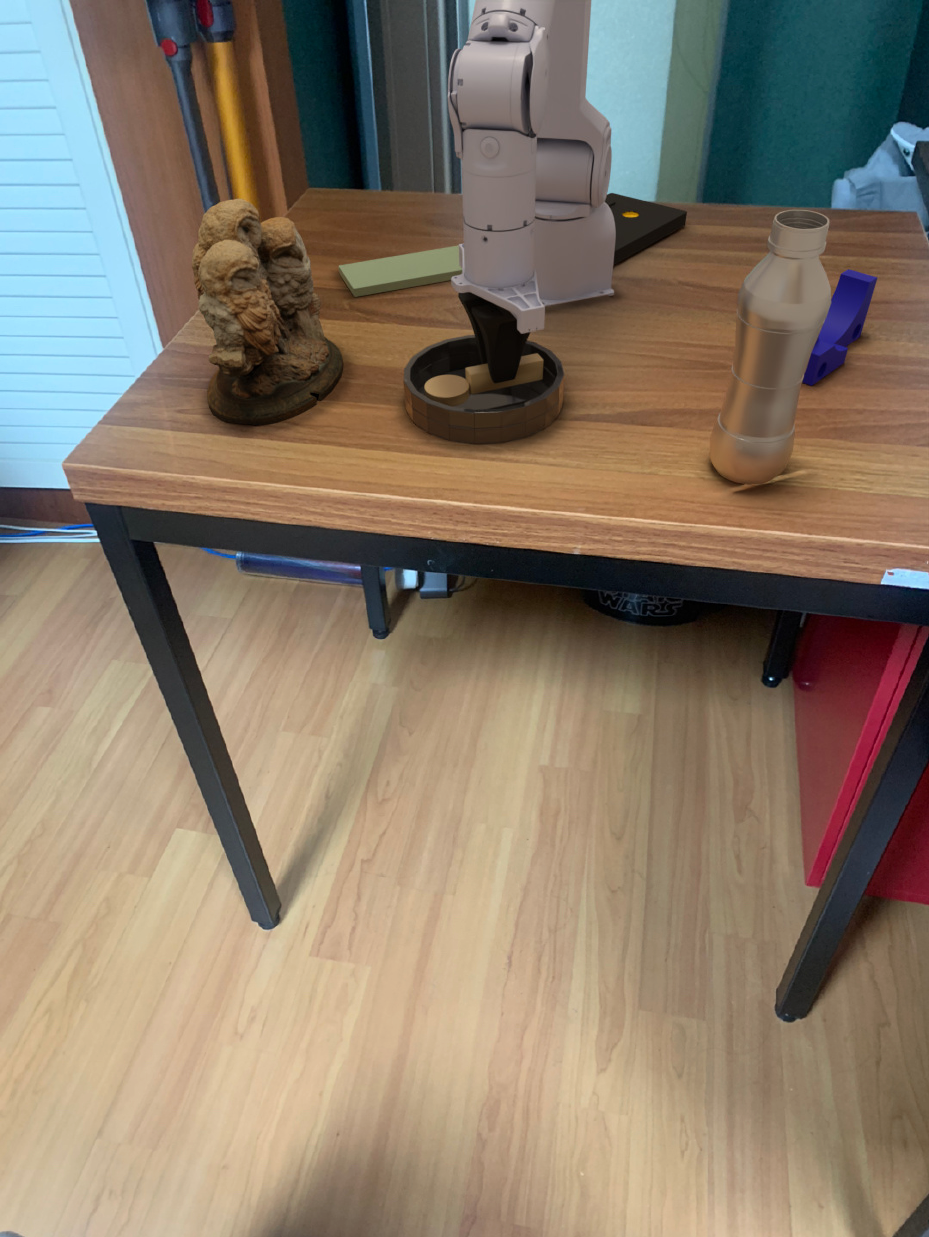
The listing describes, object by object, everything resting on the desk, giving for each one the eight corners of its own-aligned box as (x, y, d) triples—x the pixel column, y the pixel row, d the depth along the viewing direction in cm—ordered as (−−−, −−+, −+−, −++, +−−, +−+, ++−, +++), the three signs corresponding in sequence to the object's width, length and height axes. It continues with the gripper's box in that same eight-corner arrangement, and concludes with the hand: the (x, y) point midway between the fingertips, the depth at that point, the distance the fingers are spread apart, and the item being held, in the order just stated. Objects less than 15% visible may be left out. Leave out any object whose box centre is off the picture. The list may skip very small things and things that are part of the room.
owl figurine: (305, 442, 78) (270, 244, 66) (180, 431, 80) (124, 237, 68) (362, 346, 91) (341, 167, 79) (253, 339, 92) (217, 162, 81)
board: (498, 247, 109) (498, 238, 108) (520, 268, 104) (520, 259, 103) (339, 274, 104) (338, 265, 103) (354, 297, 99) (353, 288, 99)
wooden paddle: (433, 411, 78) (431, 390, 76) (419, 389, 80) (417, 369, 79) (548, 386, 80) (549, 366, 79) (531, 366, 83) (531, 346, 82)
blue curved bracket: (811, 385, 82) (827, 324, 78) (768, 370, 85) (782, 309, 81) (874, 341, 88) (892, 282, 84) (832, 327, 91) (848, 269, 87)
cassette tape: (609, 207, 117) (611, 190, 116) (686, 227, 112) (688, 209, 110) (524, 249, 108) (524, 231, 106) (602, 273, 102) (604, 254, 101)
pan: (525, 357, 88) (526, 323, 86) (588, 428, 78) (590, 392, 76) (387, 385, 85) (384, 351, 82) (435, 462, 75) (433, 426, 73)
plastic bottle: (788, 455, 74) (854, 206, 60) (782, 502, 70) (851, 243, 56) (710, 443, 76) (757, 198, 62) (698, 488, 71) (746, 233, 57)
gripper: (422, 196, 75) (431, 347, 84) (484, 260, 65) (486, 423, 74) (501, 184, 76) (501, 334, 86) (572, 244, 66) (563, 406, 76)
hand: (499, 374), depth 80 cm, fingers closed on wooden paddle, 1 cm apart
